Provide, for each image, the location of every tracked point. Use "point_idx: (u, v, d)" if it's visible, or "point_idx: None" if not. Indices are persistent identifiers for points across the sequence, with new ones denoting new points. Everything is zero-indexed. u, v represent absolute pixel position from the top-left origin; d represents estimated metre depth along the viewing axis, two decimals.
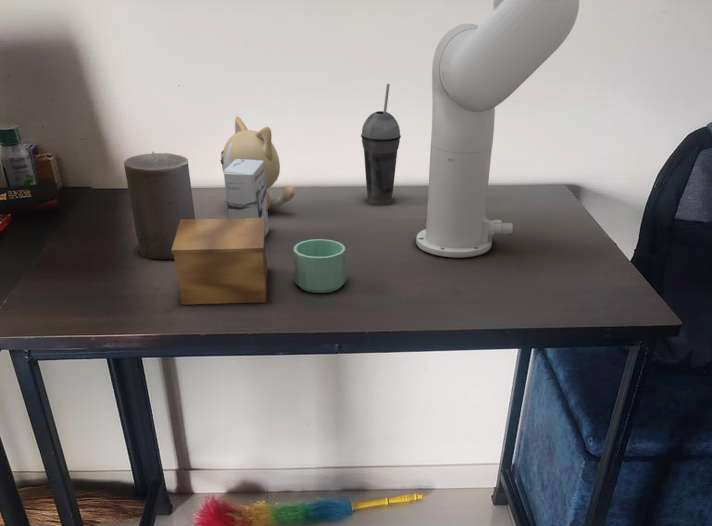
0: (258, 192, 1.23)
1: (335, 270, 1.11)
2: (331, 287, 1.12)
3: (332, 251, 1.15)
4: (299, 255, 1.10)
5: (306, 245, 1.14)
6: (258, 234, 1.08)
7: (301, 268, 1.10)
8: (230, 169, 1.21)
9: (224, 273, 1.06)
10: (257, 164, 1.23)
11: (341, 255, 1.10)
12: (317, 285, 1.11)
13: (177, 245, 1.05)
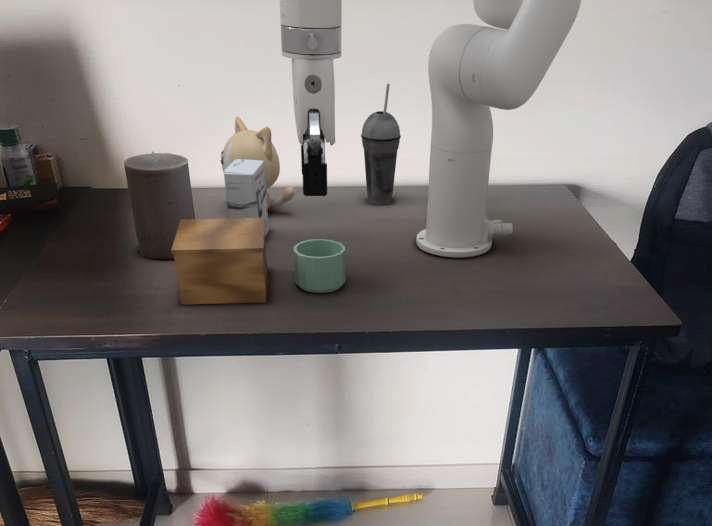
0: (258, 192, 1.23)
1: (335, 270, 1.11)
2: (331, 287, 1.12)
3: (332, 251, 1.15)
4: (299, 255, 1.10)
5: (306, 245, 1.14)
6: (258, 234, 1.08)
7: (301, 268, 1.10)
8: (230, 169, 1.21)
9: (224, 273, 1.06)
10: (257, 164, 1.23)
11: (341, 255, 1.10)
12: (317, 285, 1.11)
13: (177, 245, 1.05)
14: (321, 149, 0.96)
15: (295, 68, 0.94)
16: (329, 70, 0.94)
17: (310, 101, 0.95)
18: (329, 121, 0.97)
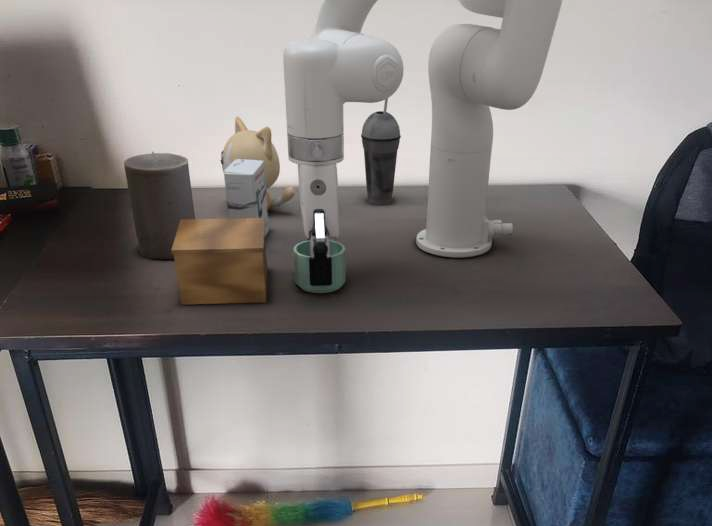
0: (258, 192, 1.23)
1: (335, 270, 1.11)
2: (331, 287, 1.12)
3: (332, 251, 1.15)
4: (299, 255, 1.10)
5: (306, 245, 1.14)
6: (258, 234, 1.08)
7: (301, 268, 1.10)
8: (230, 169, 1.21)
9: (224, 273, 1.06)
10: (257, 164, 1.23)
11: (341, 255, 1.10)
12: None
13: (177, 245, 1.05)
14: (326, 247, 1.05)
15: (301, 173, 1.02)
16: (332, 175, 1.01)
17: (315, 202, 1.03)
18: (333, 219, 1.04)
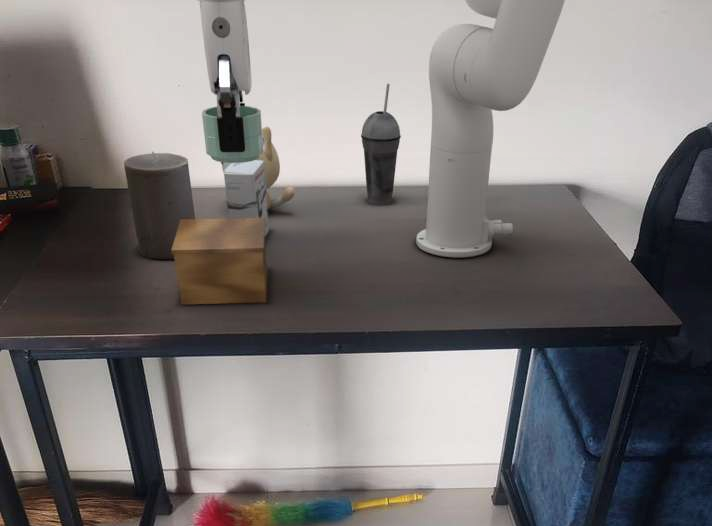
0: (258, 192, 1.23)
1: (248, 135, 0.98)
2: (245, 156, 1.00)
3: None
4: (207, 117, 0.97)
5: None
6: (258, 234, 1.08)
7: (210, 133, 0.98)
8: (230, 169, 1.21)
9: (224, 273, 1.06)
10: (257, 164, 1.23)
11: (255, 118, 0.98)
12: (229, 153, 0.99)
13: (177, 245, 1.05)
14: (233, 101, 0.93)
15: (201, 11, 0.89)
16: (237, 13, 0.89)
17: (219, 46, 0.90)
18: (241, 68, 0.92)
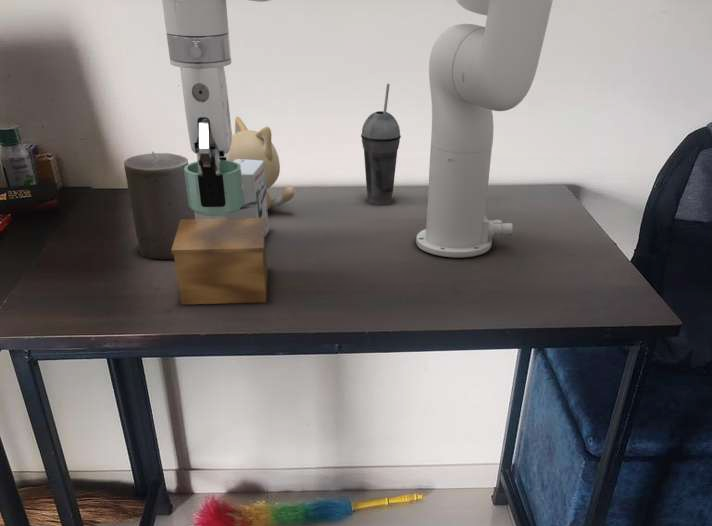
0: (258, 192, 1.23)
1: (229, 190, 1.02)
2: (225, 209, 1.03)
3: None
4: (188, 173, 1.01)
5: None
6: (258, 234, 1.08)
7: (192, 188, 1.02)
8: None
9: (224, 273, 1.06)
10: (257, 164, 1.23)
11: (235, 174, 1.02)
12: (210, 207, 1.03)
13: (177, 245, 1.05)
14: (213, 161, 0.97)
15: (182, 76, 0.93)
16: (216, 79, 0.93)
17: (199, 110, 0.94)
18: (220, 129, 0.96)
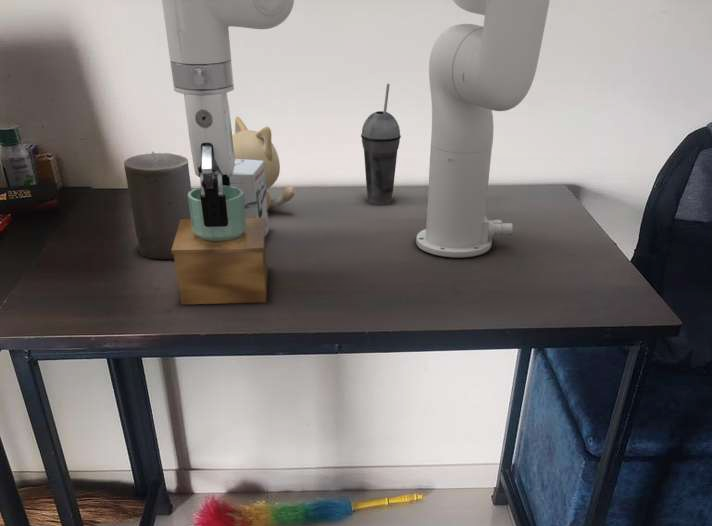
0: (258, 192, 1.23)
1: (231, 216, 1.04)
2: (228, 234, 1.06)
3: (232, 198, 1.08)
4: (192, 199, 1.03)
5: None
6: (258, 234, 1.08)
7: (195, 214, 1.04)
8: None
9: (224, 273, 1.06)
10: (257, 164, 1.23)
11: (237, 200, 1.04)
12: (213, 232, 1.05)
13: (177, 245, 1.05)
14: (215, 182, 0.98)
15: (185, 103, 0.95)
16: (219, 105, 0.95)
17: (202, 135, 0.96)
18: (223, 154, 0.98)
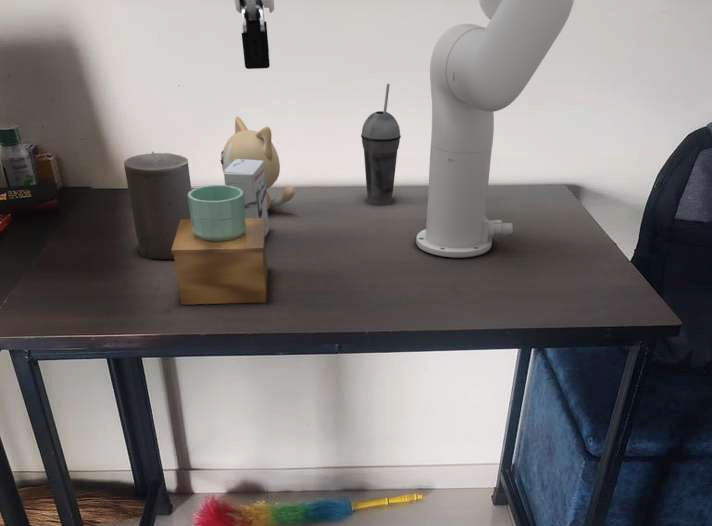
0: (258, 192, 1.23)
1: (231, 216, 1.04)
2: (228, 234, 1.06)
3: (232, 198, 1.08)
4: (192, 199, 1.03)
5: (204, 191, 1.08)
6: (258, 234, 1.08)
7: (195, 214, 1.04)
8: (230, 169, 1.21)
9: (224, 273, 1.06)
10: (257, 164, 1.23)
11: (237, 200, 1.04)
12: (213, 232, 1.05)
13: (177, 245, 1.05)
14: (258, 13, 0.94)
15: None
16: None
17: None
18: None
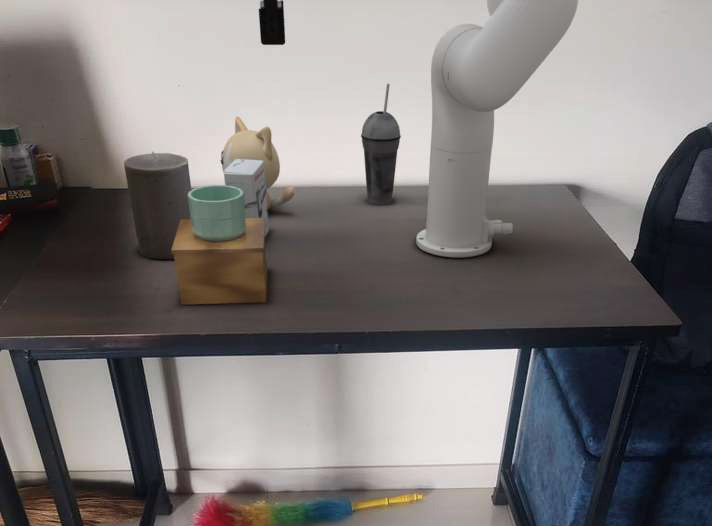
0: (258, 192, 1.23)
1: (231, 216, 1.04)
2: (228, 234, 1.06)
3: (232, 198, 1.08)
4: (192, 199, 1.03)
5: (204, 191, 1.08)
6: (258, 234, 1.08)
7: (195, 214, 1.04)
8: (230, 169, 1.21)
9: (224, 273, 1.06)
10: (257, 164, 1.23)
11: (237, 200, 1.04)
12: (213, 232, 1.05)
13: (177, 245, 1.05)
14: None
15: None
16: None
17: None
18: None
